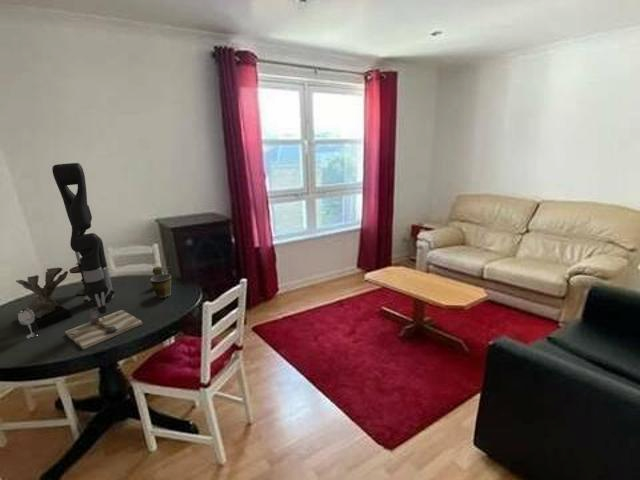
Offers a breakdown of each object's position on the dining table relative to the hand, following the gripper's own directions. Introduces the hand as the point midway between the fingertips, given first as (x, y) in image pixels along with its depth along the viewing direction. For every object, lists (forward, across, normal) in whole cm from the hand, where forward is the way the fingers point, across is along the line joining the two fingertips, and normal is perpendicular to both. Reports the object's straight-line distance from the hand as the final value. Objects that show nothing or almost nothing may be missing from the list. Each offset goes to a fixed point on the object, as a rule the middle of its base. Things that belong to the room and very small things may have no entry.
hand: (102, 313), depth 165 cm
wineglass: (+5, +25, -14) cm, 29 cm away
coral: (+6, +14, -32) cm, 35 cm away
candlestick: (+6, -5, -48) cm, 49 cm away
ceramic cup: (+6, -31, -9) cm, 32 cm away
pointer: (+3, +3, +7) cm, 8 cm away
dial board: (+5, +2, +7) cm, 8 cm away
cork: (+6, -36, -22) cm, 42 cm away
